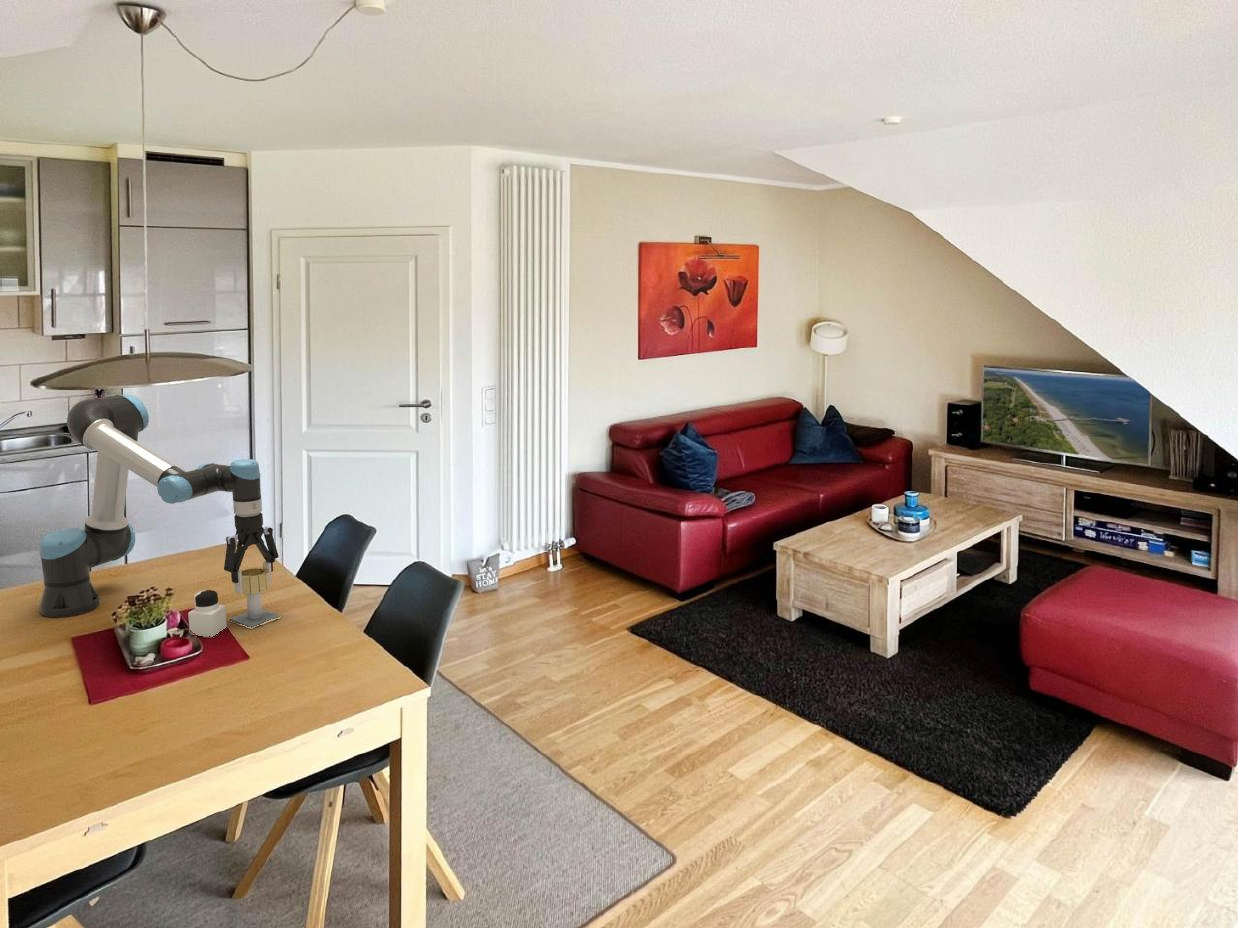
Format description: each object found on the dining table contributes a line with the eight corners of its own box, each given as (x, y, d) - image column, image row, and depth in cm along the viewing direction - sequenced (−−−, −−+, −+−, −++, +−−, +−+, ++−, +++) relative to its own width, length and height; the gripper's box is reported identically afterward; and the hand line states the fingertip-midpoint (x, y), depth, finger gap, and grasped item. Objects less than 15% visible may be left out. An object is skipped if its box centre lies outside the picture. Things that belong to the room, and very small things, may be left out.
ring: (230, 589, 255) (228, 573, 254) (257, 581, 262) (256, 565, 261) (249, 596, 250) (248, 579, 249) (276, 587, 258) (275, 570, 256)
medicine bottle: (227, 628, 252) (224, 588, 250) (213, 638, 245) (210, 597, 243) (203, 626, 253) (200, 587, 250) (189, 636, 246) (186, 595, 243)
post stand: (229, 621, 257) (227, 590, 255) (259, 611, 265) (257, 581, 263) (251, 629, 251) (249, 598, 249) (280, 618, 260) (279, 588, 258)
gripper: (221, 524, 240) (228, 601, 245) (288, 507, 258) (293, 580, 263) (205, 519, 244) (211, 596, 249) (272, 503, 262) (277, 575, 267)
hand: (253, 587), depth 256 cm, fingers closed on ring, 9 cm apart
